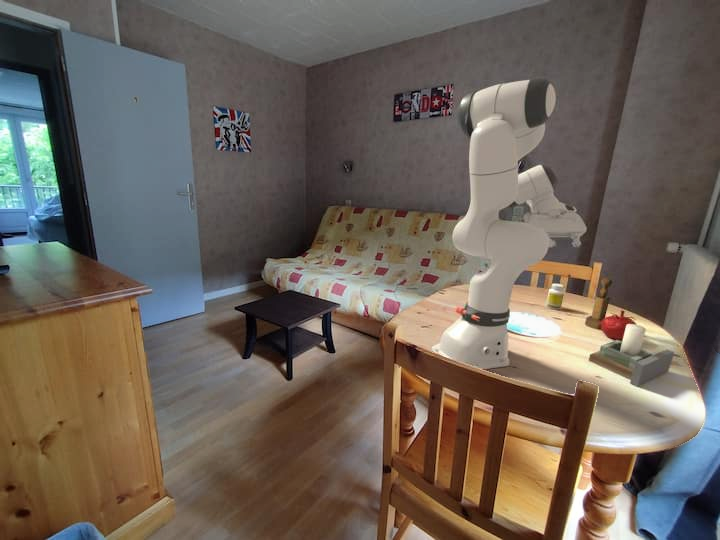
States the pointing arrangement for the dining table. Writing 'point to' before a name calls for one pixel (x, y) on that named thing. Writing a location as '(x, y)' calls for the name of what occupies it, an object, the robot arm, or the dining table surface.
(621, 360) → the socket block
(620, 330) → the pomegranate
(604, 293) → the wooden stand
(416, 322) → the dining table surface
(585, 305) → the dining table surface
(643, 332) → the dowel
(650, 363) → the backstop wall
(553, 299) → the supplement bottle
